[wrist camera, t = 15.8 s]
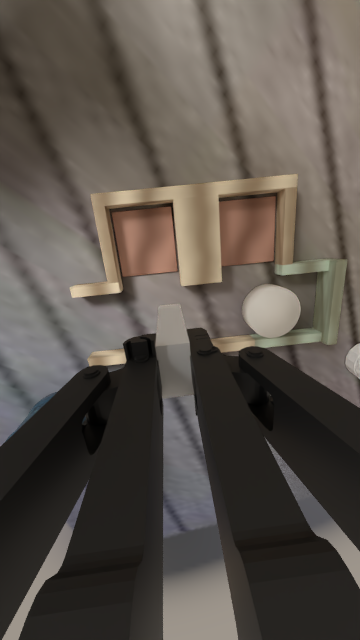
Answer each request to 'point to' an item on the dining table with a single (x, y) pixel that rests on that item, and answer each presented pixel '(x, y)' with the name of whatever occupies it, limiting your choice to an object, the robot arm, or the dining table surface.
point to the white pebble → (271, 310)
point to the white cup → (354, 360)
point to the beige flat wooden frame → (211, 247)
